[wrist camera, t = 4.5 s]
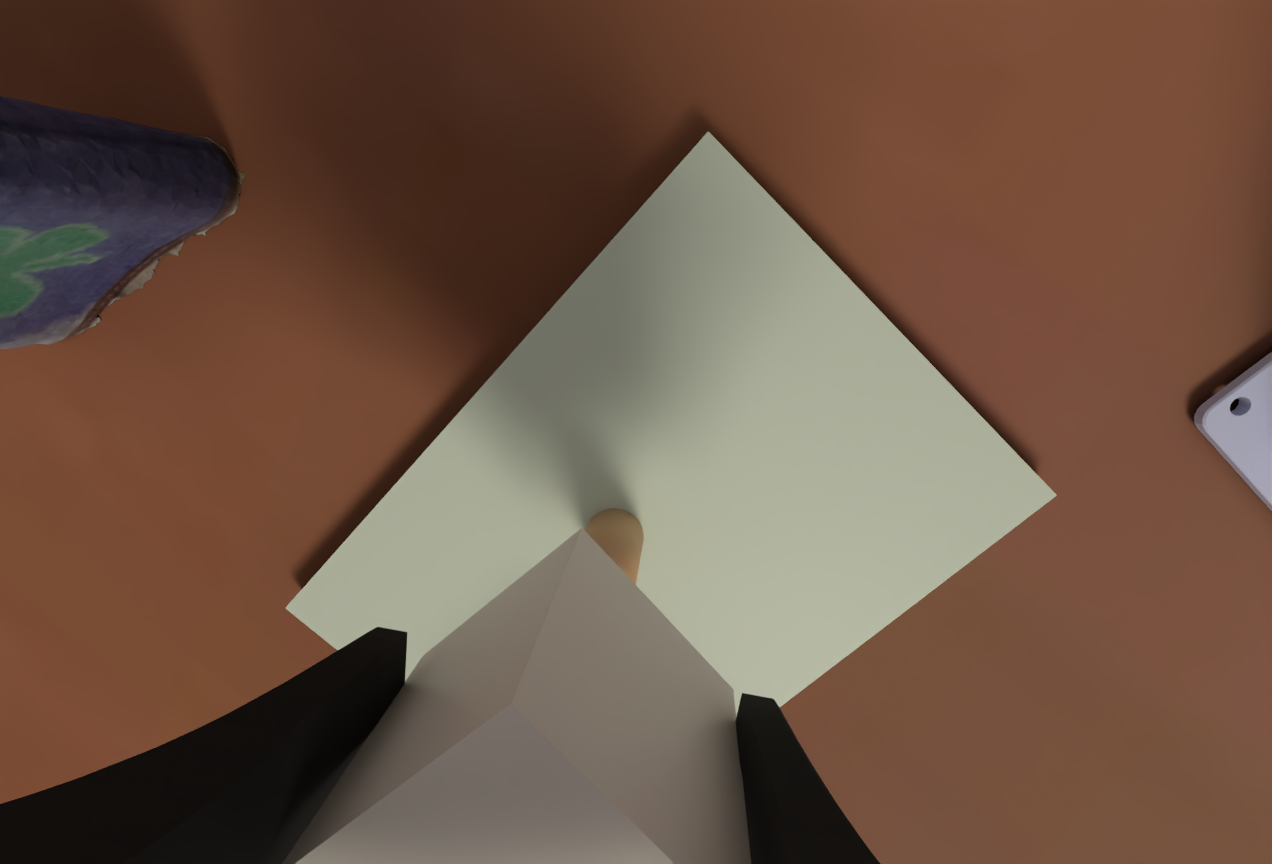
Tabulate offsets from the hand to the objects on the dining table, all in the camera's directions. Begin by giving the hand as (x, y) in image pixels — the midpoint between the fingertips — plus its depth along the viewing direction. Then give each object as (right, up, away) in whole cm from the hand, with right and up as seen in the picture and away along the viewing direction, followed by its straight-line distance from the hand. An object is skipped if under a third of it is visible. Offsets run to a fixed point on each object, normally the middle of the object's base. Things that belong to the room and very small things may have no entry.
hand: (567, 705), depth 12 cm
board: (+1, +2, +8) cm, 9 cm away
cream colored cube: (0, 0, +1) cm, 1 cm away
